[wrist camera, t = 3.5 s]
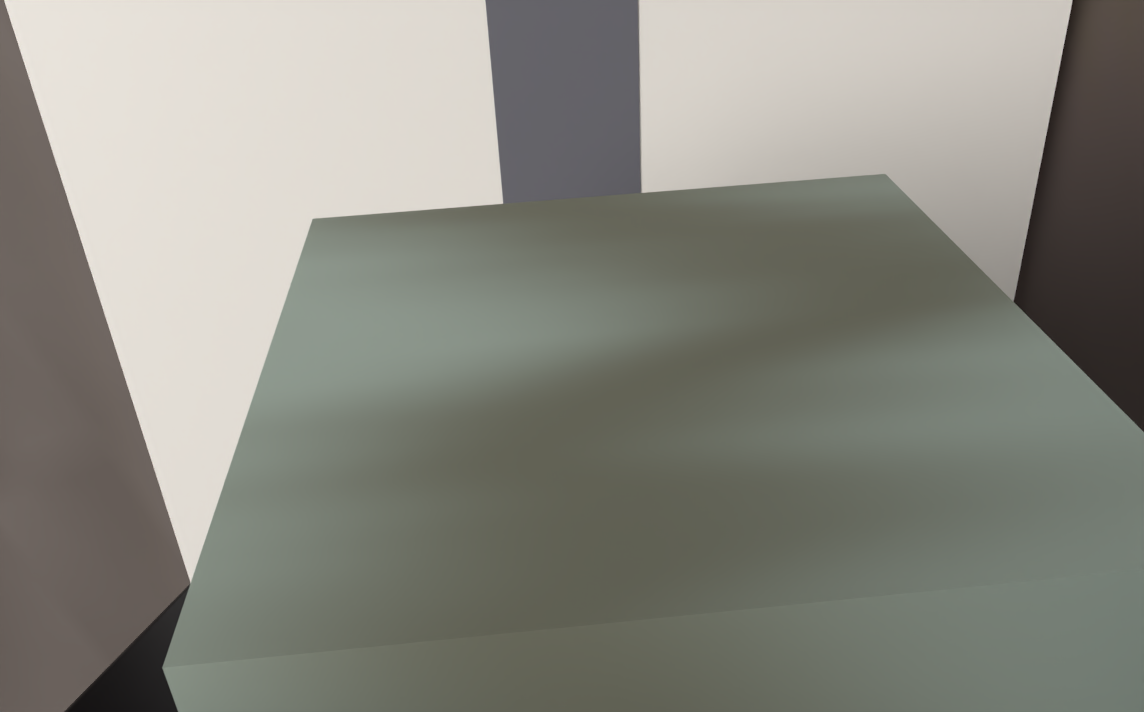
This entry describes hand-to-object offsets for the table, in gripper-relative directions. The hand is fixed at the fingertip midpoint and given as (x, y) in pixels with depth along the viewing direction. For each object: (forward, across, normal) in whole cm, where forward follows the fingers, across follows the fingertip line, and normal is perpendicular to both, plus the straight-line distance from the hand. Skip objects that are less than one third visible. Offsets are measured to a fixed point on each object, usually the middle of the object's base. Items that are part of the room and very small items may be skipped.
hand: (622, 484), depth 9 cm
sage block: (+1, 0, 0) cm, 1 cm away
